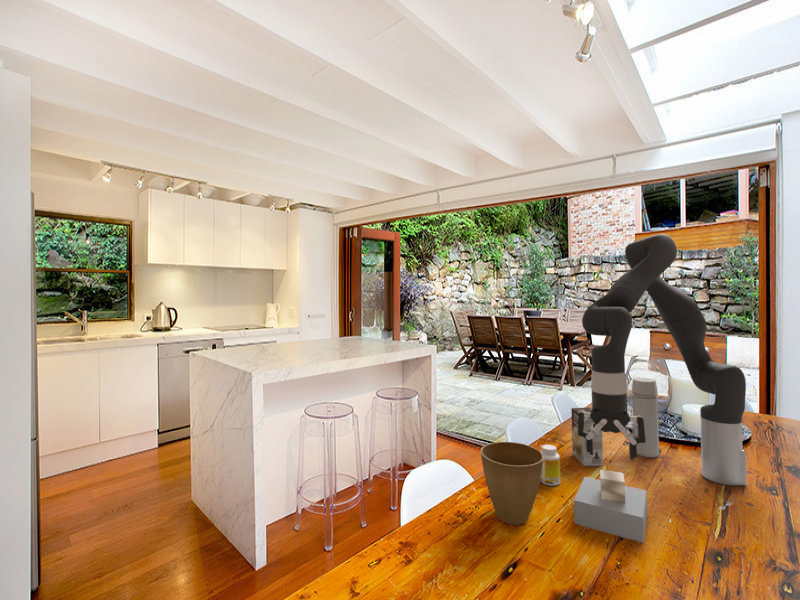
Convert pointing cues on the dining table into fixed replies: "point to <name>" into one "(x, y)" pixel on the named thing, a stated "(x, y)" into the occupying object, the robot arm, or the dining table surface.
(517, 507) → the plant pot
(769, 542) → the dining table surface
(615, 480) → the cream cube
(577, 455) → the coffee box
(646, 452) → the water bottle
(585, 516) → the slate block
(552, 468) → the supplement bottle
